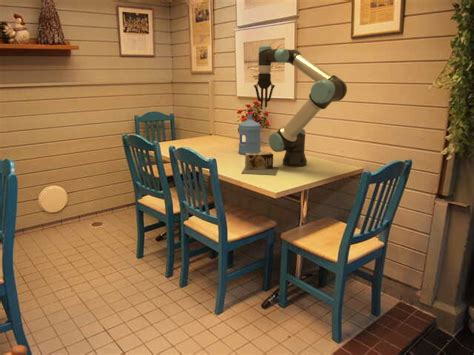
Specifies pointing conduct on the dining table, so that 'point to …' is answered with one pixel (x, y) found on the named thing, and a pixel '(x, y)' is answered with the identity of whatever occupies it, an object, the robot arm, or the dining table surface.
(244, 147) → the water jug
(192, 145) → the dining table surface
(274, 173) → the mat
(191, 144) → the dining table surface
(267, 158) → the coffee box
